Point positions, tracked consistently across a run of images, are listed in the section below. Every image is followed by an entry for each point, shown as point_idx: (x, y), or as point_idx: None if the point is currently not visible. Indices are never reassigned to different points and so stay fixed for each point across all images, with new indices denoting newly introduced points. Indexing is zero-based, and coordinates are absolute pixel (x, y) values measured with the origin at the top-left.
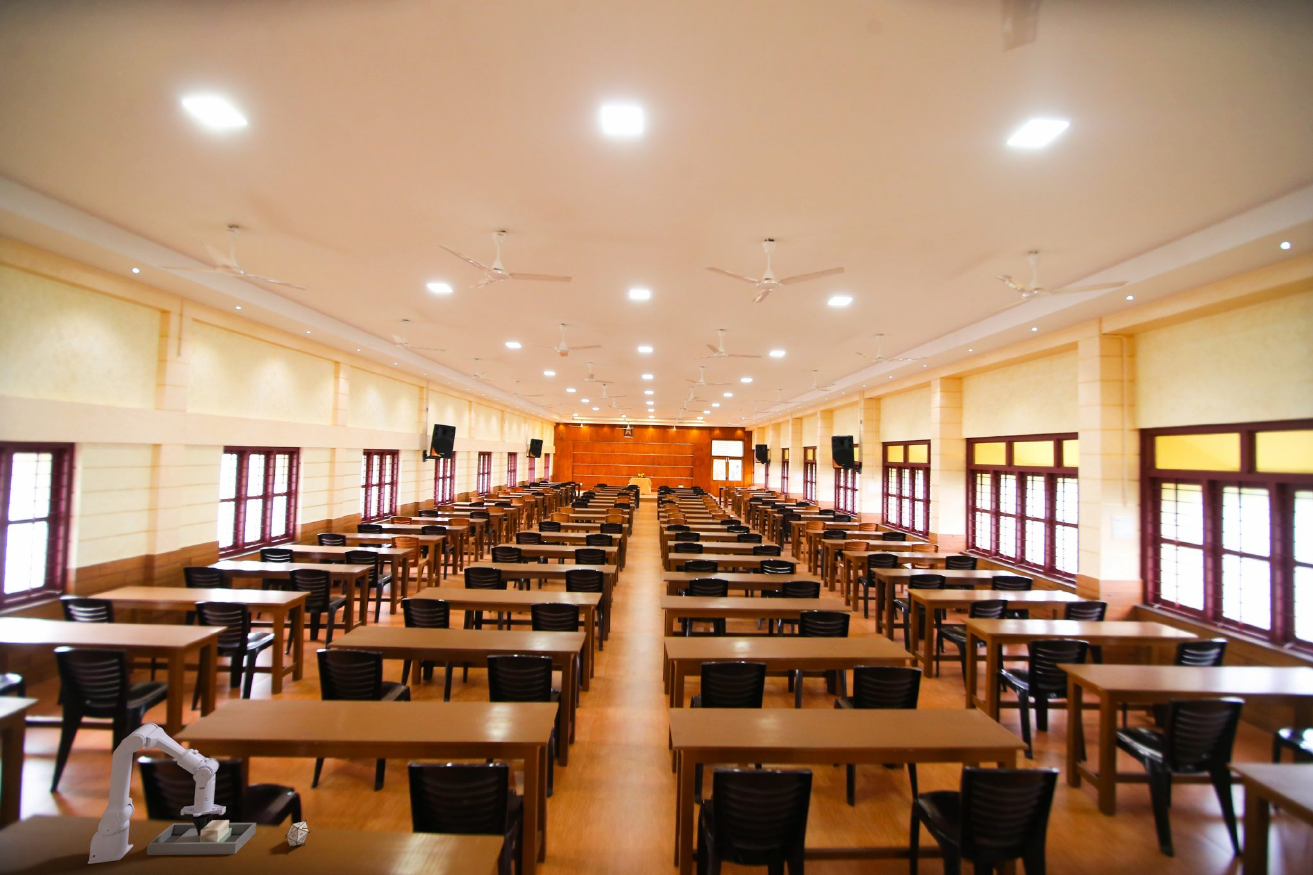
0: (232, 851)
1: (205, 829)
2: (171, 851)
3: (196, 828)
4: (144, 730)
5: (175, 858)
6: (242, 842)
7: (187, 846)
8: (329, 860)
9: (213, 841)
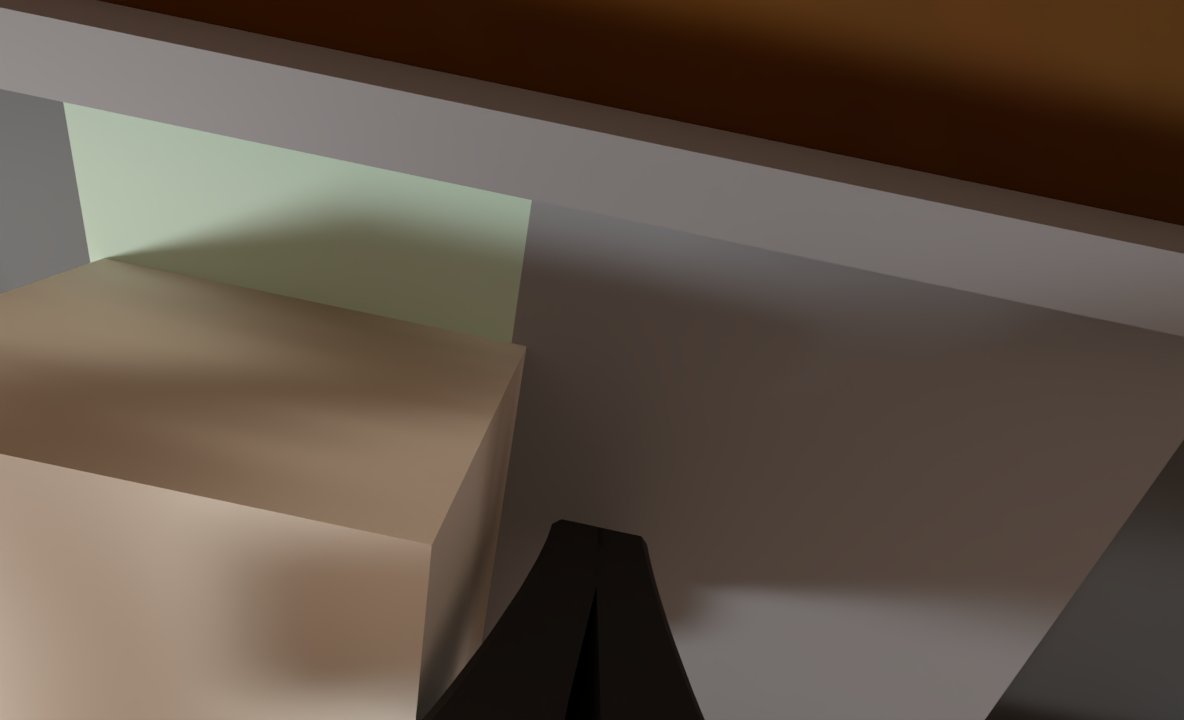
0: None
1: (291, 561)
2: (1115, 220)
3: (685, 700)
4: None
5: (936, 15)
6: None
7: (749, 150)
8: None
9: (198, 278)
